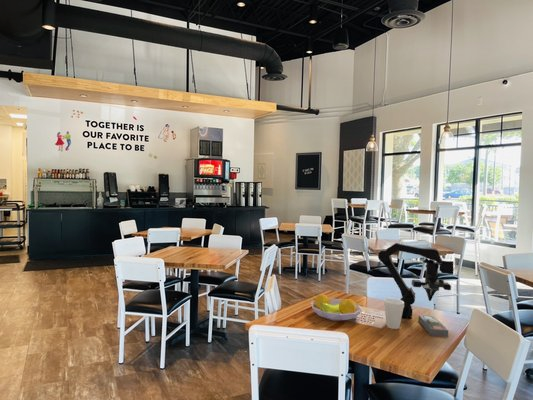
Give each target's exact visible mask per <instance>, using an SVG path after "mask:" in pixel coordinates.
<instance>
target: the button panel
mask: <svg viewBox="0 0 533 400" xmlns="http://www.w3.org/2000/svg"><path fill="white" fill-rule="evenodd" d="M423 316H426V315H421V314H419V315H418V322H419V323H420V324H421V325H422V327H423V328H424V329H425V330H426V332H427V333H428V334H429V335H430V336H437V337H449V329H448V328H446V326H445V325H444V324H443V323H442V322H441V321H439V319H438V318H437V317H436V316H435V315H428V316H429V317H432V318H433V319H436V320H437V321H438V324H429V322H428V319H425V318H424V317H423ZM432 326H441V327H442V329H443V330H442V329H434V328H433V327H432Z"/></svg>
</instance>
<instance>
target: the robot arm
mask: <svg viewBox="0 0 533 400" xmlns="http://www.w3.org/2000/svg"><path fill="white" fill-rule="evenodd" d="M396 252H403V253H408V254H414V255H418V256H421V257H423V258H425V259H424V260H423V261H422V263H424V264H426V267H425V279H424V281H421V280H420V279H412V280H411V285H412V287H409V286H407V284H406V282H405V280H404V279H403V277H402V275H401V274H400V272H399V271H398V269H397V268H396V265H395V264H394V261H393V257H392V255H394V254H395V253H396ZM377 258H378V260H379V261H380V262H381V263H382V264H383V265H384V266H385V267H386V268H387V270H388V271H389V274H390V275H391V277H392V279H393V281H394V282H395V283H396V285H397V287H398V289H399V290H400V294H401V298H400V299H399V300H401V301H403V302H404V308H403V313H402V318H401V319H411V320H413V308H412V305H413V304H414V303H415V302H416V292H415V291H414V290H413V288H421V287H422V288H423V290H425V292H426V296H427V298H428V301H429V302H431V301H432V300H433V298H434V295H435V293H436V292H437V291H440V288H443V290H446V291H451V290H452V286H451V284H450V283H449V282H446V281H444V279H439V275H438V274H439V273H438V272H439V271H440V273H441V274H445V275H446V274H447V275H454V270H455V269H454V261H453V260H443V259H442V257H441V256H440V252H439V250H438V249H437V248H435V247H419V246H416V245H415V246H414V245H410V244H409V245H408V244H405V243H399V242H394V244H392V245H391V246H389V247H387V248H386V249H384V248H383V249H381V250H379V252H378V254H377Z"/></svg>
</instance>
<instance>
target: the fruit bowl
mask: <svg viewBox="0 0 533 400" xmlns="http://www.w3.org/2000/svg"><path fill="white" fill-rule="evenodd" d="M311 307H312V310H313V312H314V313H316V314H317V315H318V316H319V317H322V318H324V319H328V320H329V321H333V322H335V321H336V322H337V321H347V320H351V319H355V318H357V317H358V316H359V314H361V311H362V308H361V307H360V305H359V304H358V303H356V302H355V300H353V299H351V298H350V299H349V298H344V299H341V298H331V297H330V298H329V297H328V296H327V295H326V294H318V295H317V296H315V298H314V300H312V301H311ZM340 313H341V314H340Z"/></svg>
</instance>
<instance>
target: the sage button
mask: <svg viewBox="0 0 533 400" xmlns="http://www.w3.org/2000/svg"><path fill="white" fill-rule="evenodd" d="M428 322H429V324H438V321H437V320H436V319H428Z"/></svg>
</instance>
